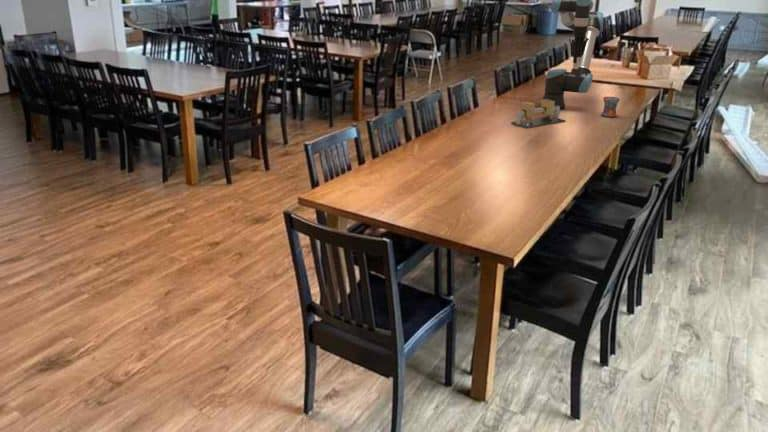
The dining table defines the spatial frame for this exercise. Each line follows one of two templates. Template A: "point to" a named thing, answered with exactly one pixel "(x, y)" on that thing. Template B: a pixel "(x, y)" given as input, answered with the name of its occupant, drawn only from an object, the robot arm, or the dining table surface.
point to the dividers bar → (530, 108)
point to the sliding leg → (547, 107)
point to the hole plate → (539, 122)
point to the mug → (610, 106)
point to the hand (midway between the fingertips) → (575, 68)
